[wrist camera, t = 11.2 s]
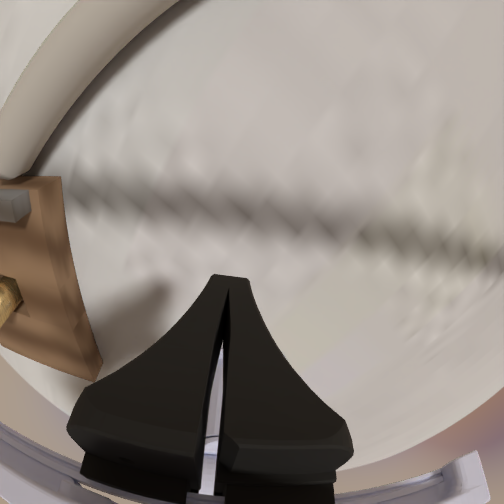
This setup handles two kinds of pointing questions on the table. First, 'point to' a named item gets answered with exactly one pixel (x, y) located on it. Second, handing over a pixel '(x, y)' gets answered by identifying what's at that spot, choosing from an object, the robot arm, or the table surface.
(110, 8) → the tube
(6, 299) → the brass cylinder
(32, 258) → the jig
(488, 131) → the table surface
